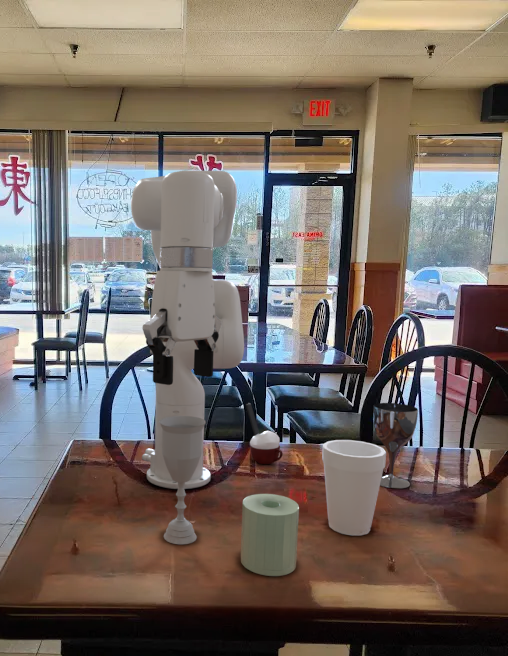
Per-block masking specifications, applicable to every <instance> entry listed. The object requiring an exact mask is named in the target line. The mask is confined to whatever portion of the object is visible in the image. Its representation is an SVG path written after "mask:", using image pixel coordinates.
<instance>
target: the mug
mask: <svg viewBox="0 0 508 656" xmlns="http://www.w3.org/2000/svg"><path fill="white" fill-rule="evenodd" d="M241 509H242V510H241V535H240V537H241V538H240V563H241V565H242V566H243V567H244V568H245V569H247V571H248V570H249V571H250V572H253V573H254V574H257V575H261V576H269V577H281V576H286V575H289V574H291V573H292V572H294V571H295V570H296V568H297V559H298V557H297V556H298V537H299V536H298V534H299V520H300V519H299V516H300V507H299V504H298V503H297V501H295V500H293V499H292V498H291V497H287V496H284V495H281V494H274V493H255V494H251V495H248V496H246V497H245V498H244V499H242V507H241Z"/></svg>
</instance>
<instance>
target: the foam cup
mask: <svg viewBox="0 0 508 656" xmlns="http://www.w3.org/2000/svg"><path fill="white" fill-rule="evenodd" d="M321 452H322V454H321V460H322V463H323V470H324V471H323V472H324V482H325V483H324V485H325V498H326V509H327V510H326V511H327V519H328V520H327V521H328V526H329V528H330V529H332V530H333V531H334V532H337V533H339V534H342V535H347V536H364V535H368V534H369V533H370V531H371V528H372V524H373V519H374V514H375V510H376V505H377V502H378V501H377V500H378V497H379V492H380V487H381V485H380V482H381V478H382V475H383V473H384V469H385V468H386V462H387V460H386V459H387V451H386V450H385V448H384V447H381V446H380V445H377V444H375V443H370V442H366V441H361V440H352V439H335V440H328V441H326V442H324V443H323V444H322V451H321Z"/></svg>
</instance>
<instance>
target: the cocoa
mask: <svg viewBox="0 0 508 656" xmlns="http://www.w3.org/2000/svg"><path fill="white" fill-rule="evenodd" d="M245 408H246V411H247V415H248V419H249V422H250V425H251V426H250V427H251V429H252V434H253V436H252V438H251V439H250V441H249V446H250V448H249V449H250V453H251V457H252V459H253V460H254V461H255V462H256V463H257V464H261V465H271V464H274V463H276V462H278V461H279V460H281V459H282V457H283V451H282V449H281V445H280V444H281V443H280V440H281V439H280V437H279V435H278V434H277V433H275V432H273V431H271V430H265V431H263V432H261V433H260V430H259V427H258V424H257V419H256V416H255V413H254V409H253V406H252V403H250V402H248V403H245Z"/></svg>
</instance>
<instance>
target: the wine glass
mask: <svg viewBox="0 0 508 656" xmlns="http://www.w3.org/2000/svg"><path fill="white" fill-rule="evenodd" d="M372 411H373V413H372V414H373V417H372V418H373V419H372V420H373V427H374V431H375V435H376V436H377V438H378V439H379V440H380V442H381V443H382V444H383V446H384V447H385V449H386V450H387V451H386V452H387V454H388V461H389V463H388V465H389V467H388V474H382V478H381V482H380V487H383V488H389V489H390V488H392V489H406V488H408V487H410V486H411V483H410V482H409V481H408V480H407V479H405V478H402V477H399V476H395V475H394V467H395V461H396V456H397V454H398V452H399V451H400V450H401V448H403V447H404V446H405V445H406V444H407V443H408V442H410V440H411V439H412V438H413V437H414V434H415V431H416V428H417V424H418V417H419V415H418V414H419V409H418V408H417V407H415V406H412V405H409V404H404V403H396V402H378V403H375V404H374V405H373V410H372Z"/></svg>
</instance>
